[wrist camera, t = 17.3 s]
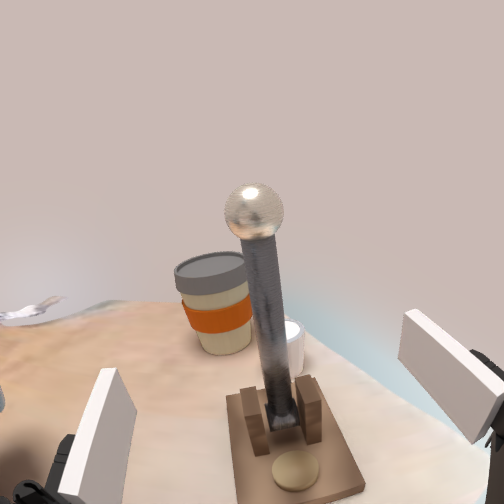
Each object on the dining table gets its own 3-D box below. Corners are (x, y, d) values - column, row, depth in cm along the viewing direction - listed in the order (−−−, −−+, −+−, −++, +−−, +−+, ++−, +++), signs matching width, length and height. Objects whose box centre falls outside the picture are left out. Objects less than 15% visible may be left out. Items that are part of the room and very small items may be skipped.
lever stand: (242, 520, 20) (222, 482, 18) (228, 405, 37) (214, 354, 35) (363, 491, 21) (375, 444, 19) (315, 387, 38) (312, 335, 36)
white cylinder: (309, 379, 40) (307, 340, 38) (261, 384, 41) (254, 346, 39) (305, 352, 47) (302, 315, 45) (262, 357, 48) (256, 320, 46)
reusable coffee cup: (184, 337, 57) (165, 264, 52) (242, 316, 62) (229, 246, 57) (206, 370, 46) (183, 285, 41) (274, 343, 51) (262, 261, 46)
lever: (267, 441, 26) (221, 192, 18) (261, 414, 30) (219, 185, 22) (306, 433, 26) (286, 182, 18) (297, 406, 30) (273, 176, 22)
